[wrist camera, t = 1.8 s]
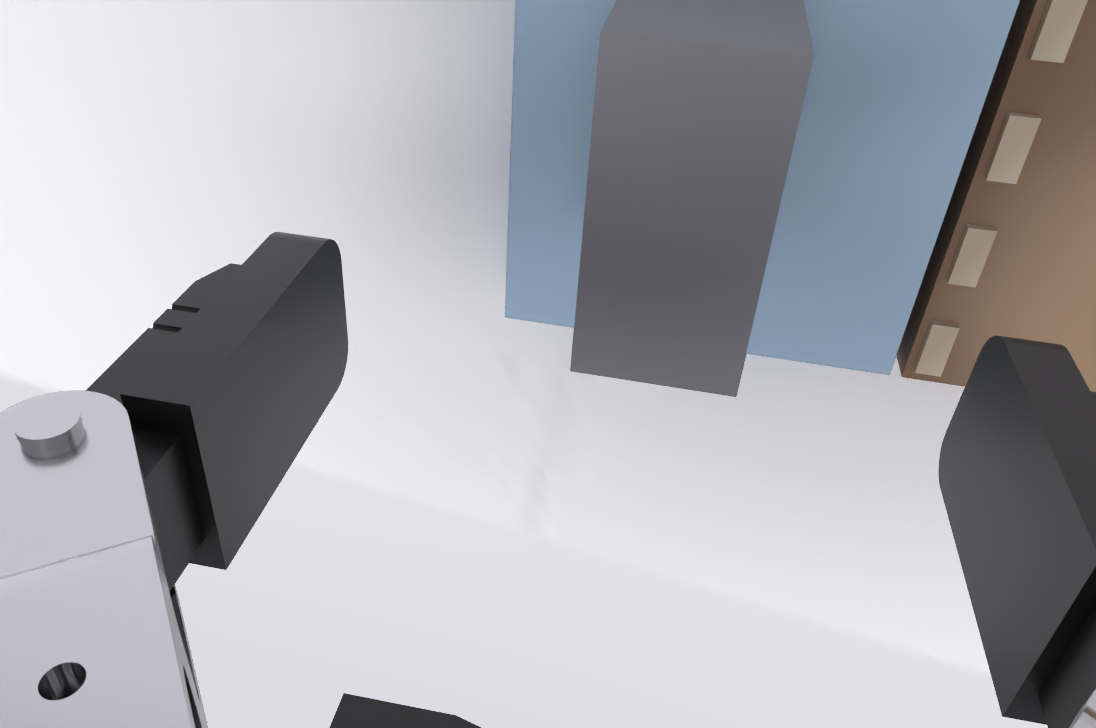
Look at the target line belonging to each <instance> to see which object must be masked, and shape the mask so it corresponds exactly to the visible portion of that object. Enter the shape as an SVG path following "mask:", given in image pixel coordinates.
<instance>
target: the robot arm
mask: <svg viewBox="0 0 1096 728" xmlns="http://www.w3.org/2000/svg"><path fill="white" fill-rule="evenodd" d="M347 355H348V335H347V323H346V312H345V300H344V288H343V276H342V264H341V255H340V251H339V248H338V245H337V244H336V242H335V241H334V240H331V239H325V238H318V237H310V236H303V235H296V234H289V233H282V232H274V233H272V234H271V235H270V236H269V237H268V238H267V239H266V240H265V241H264V242H263V243H262V244H261V245H260V246H259V247H258V248H257V250H256V251H255V252H254V253H253V254H252V255H251V256H250V257H249V258H248V259H247V260H246V261H245V262H244V263H243V264H242V265H237V264H229V265H227V266H225V267H223V268H221V269H219V270H217V271H215V272H213V273H211V274H209V275H207V276H205V277H203V278H201V279H199V280H197V281H195V282H194V283H193V284H192V285H191V286H190V287H189V288H188V289H187V290H186V291H185V292H184V293H183V294H182V295H181V296H180V297H179V298H178V299H177V300H176V301H175V302H174V303H173V304H172V309H167V310H166V311H165V312H164V313H163V314H162V315H161V316H160V317H159V318H158V319H157V320H156V321H155V322H154V323H153V328H152V329H151V328H148V329H147V330H146V331H145V332H144V333H143V334H142V335H141V336H140V337H139V338H138V339H137V340H136V341H135V342H134V343H133V344H132V345H131V346H130V347H129V348H128V349H127V350H126V351H125V352H124V353H123V354H122V355H121V356H120V357H119V358H118V359H117V360H116V361H115V362H114V363H113V364H112V365H111V366H110V367H109V368H108V369H107V370H106V371H105V372H104V373H103V374H102V375H101V376H100V377H99V378H98V379H97V380H96V381H95V382H94V383H93V384H92V385H91V386H90V387H89V388H88V389H87V390H86V391H76V390H72V391H60V392H54V393H48V394H44V395H40V396H36V397H33V398H30V399H27V400H24V401H22V402H19V403H17V404H15V405H13V406H11V407H9V408H7V409H5V410H4V411H2V412H0V728H208V726H207V721H206V717H205V713H204V708H203V704H202V699H201V695H200V691H199V686H198V682H197V677H196V673H195V668H194V664H193V660H192V655H191V651H190V646H189V642H188V637H187V633H186V629H185V624H184V620H183V616H182V611H181V607H180V602H179V598H178V594H177V590H176V587H175V583H176V581H177V580H178V578H179V577H180V575H181V574H182V572H183V571H184V569H185V568H186V566H187V565H188V563H192V564H198V565H203V566H208V567H214V568H219V569H225V570H226V569H227V568H228V566H229V564H230V563H231V561H232V560H233V558H234V556H235V555H236V553H237V551H238V550H239V548H240V547H241V545H242V543H243V542H244V540H245V538H246V537H247V535H248V533H249V532H250V530H251V529H252V527H253V526H254V524H255V522H256V521H257V519H258V517H259V516H260V514H261V513H262V511H263V509H264V507H265V506H266V504H267V503H268V501H269V500H270V498H271V496H272V495H273V493H274V491H275V490H276V488H277V487H278V485H279V483H280V482H281V480H282V479H283V477H284V475H285V474H286V472H287V470H288V469H289V467H290V466H291V464H292V462H293V461H294V459H295V457H296V456H297V454H298V453H299V451H300V449H301V448H302V446H303V444H304V443H305V441H306V440H307V438H308V436H309V435H310V433H311V432H312V430H313V428H314V427H315V425H316V423H317V422H318V420H319V419H320V417H321V415H322V414H323V412H324V410H325V409H326V407H327V406H328V404H329V402H330V401H331V399H332V397H333V396H334V394H335V393H336V391H337V389H338V387H339V386H340V383H341V381H342V378H343V375H344V371H345V367H346V362H347ZM939 483H940V488H941V492H942V495H943V499H944V503H945V506H946V510H947V514H948V517H949V521H950V525H951V528H952V532H953V536H954V540H955V543H956V547H957V551H958V554H959V558H960V562H961V565H962V569H963V573H964V577H965V580H966V584H967V588H968V591H969V595H970V599H971V602H972V606H973V610H974V613H975V617H976V621H977V625H978V628H979V632H980V636H981V639H982V643H983V647H984V650H985V654H986V658H987V661H988V665H989V669H990V673H991V676H992V680H993V684H994V687H995V691H996V695H997V698H998V702H999V705H1000V709H1001V713H1002V716H1003V717H1009V718H1014V719H1019V720H1025V721H1030V722H1036V723H1041V724H1047V725H1048V728H1096V392H1092V391H1090V389H1089V388H1088V386H1087V384H1086V382H1085V380H1084V378H1083V377H1082V375H1081V373H1080V371H1079V369H1078V367H1077V365H1076V364H1075V362H1074V360H1073V358H1072V356H1071V354H1070V352H1069V351H1068V349H1067V348H1066V347H1065V346H1063V345H1060V344H1054V343H1047V342H1040V341H1033V340H1026V339H1019V338H1012V337H1005V336H998V335H996V336H992V337H991V338H989V339H988V340H987V341H986V343H985V344H984V346H983V347H982V349H981V351H980V353H979V356H978V358H977V360H976V363H975V365H974V367H973V370H972V372H971V375H970V377H969V379H968V382H967V384H966V386H965V389H964V391H963V393H962V396H961V398H960V401H959V403H958V405H957V408H956V410H955V412H954V415H953V417H952V420H951V422H950V424H949V427H948V429H947V431H946V434H945V437H944V440H943V443H942V447H941V452H940V459H939ZM330 728H481V727H479V726H476V725H474V724H472V723H470V722H468V721H466V720H464V719H462V718H460V717H458V716H456V715H450V714H445V713H441V712H436V711H430V710H425V709H420V708H415V707H410V706H405V705H400V704H395V703H389V702H385V701H380V700H374V699H370V698H365V697H360V696H354V695H349V694H343V697H342V699H341V702H340V704H339V706H338V709H337V711H336V714H335V716H334V719H333V721H332V723H331V726H330Z"/></svg>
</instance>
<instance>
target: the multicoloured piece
mask: <svg viewBox="0 0 1096 728" xmlns="http://www.w3.org/2000/svg"><path fill="white" fill-rule="evenodd" d="M1019 2H1020V0H516V8H515V37H514V67H513V97H512V126H511V156H510V186H509V216H508V245H507V275H506V305H505V317H507V318H513V319H520V320H527V321H533V322H540V323H547V324H553V325H560V326H567V327H573V328H574V335H573V346H572V357H571V369H570V371H574V372H580V373H586V374H593V375H599V376H606V377H612V378H618V379H625V380H631V381H638V382H644V383H650V384H657V385H663V386H670V387H676V388H683V389H689V390H695V391H702V392H708V393H715V394H721V395H727V396H734V397H736V396H737V392H738V387H739V383H740V379H741V374H742V370H743V365H744V361H745V357H746V354H753V355H760V356H766V357H773V358H780V359H786V360H793V361H800V362H806V363H813V364H820V365H826V366H833V367H840V368H846V369H853V370H859V371H866V372H873V373H879V374H886V375H889V374H890V371H891V369H892V366H893V363H894V360H895V357H896V354H897V351H898V349H899V346H900V343H901V340H902V337H903V334H904V331H905V328H906V326H907V323H908V320H909V317H910V314H911V311H912V308H913V306H914V303H915V300H916V297H917V294H918V291H919V288H920V285H921V283H922V280H923V277H924V274H925V271H926V268H927V265H928V263H929V260H930V257H931V254H932V251H933V248H934V245H935V242H936V240H937V237H938V234H939V231H940V228H941V225H942V222H943V220H944V217H945V214H946V211H947V208H948V205H949V202H950V199H951V197H952V194H953V191H954V188H955V185H956V182H957V179H958V176H959V174H960V171H961V168H962V165H963V162H964V159H965V156H966V154H967V151H968V148H969V145H970V142H971V139H972V136H973V133H974V131H975V128H976V125H977V122H978V119H979V116H980V113H981V111H982V108H983V105H984V102H985V99H986V96H987V93H988V90H989V88H990V85H991V82H992V79H993V76H994V73H995V70H996V68H997V65H998V62H999V59H1000V56H1001V53H1002V50H1003V47H1004V45H1005V42H1006V39H1007V36H1008V33H1009V30H1010V27H1011V25H1012V22H1013V19H1014V16H1015V13H1016V10H1017V7H1018V4H1019Z"/></svg>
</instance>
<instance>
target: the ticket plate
mask: <svg viewBox="0 0 1096 728" xmlns="http://www.w3.org/2000/svg"><path fill="white" fill-rule="evenodd" d="M996 335H998V336H1005V337H1012V338H1019V339H1026V340H1033V341H1040V342H1047V343H1054V344H1060V345H1063V346H1065V347H1066V348H1067V349H1068V351H1069V352H1070V354H1071V356H1072V358H1073V360H1074V362H1075V364H1076V365H1077V367H1078V369H1079V371H1080V373H1081V375H1082V377H1083V378H1084V380H1085V382H1086V384H1087V386H1088V388H1089V389H1090V391H1092V392H1096V0H1020V2H1019V4H1018V7H1017V10H1016V13H1015V16H1014V19H1013V22H1012V25H1011V27H1010V30H1009V33H1008V36H1007V39H1006V42H1005V45H1004V47H1003V50H1002V53H1001V56H1000V59H999V62H998V65H997V68H996V70H995V73H994V76H993V79H992V82H991V85H990V88H989V90H988V93H987V96H986V99H985V102H984V105H983V108H982V111H981V113H980V116H979V119H978V122H977V125H976V128H975V131H974V133H973V136H972V139H971V142H970V145H969V148H968V151H967V154H966V156H965V159H964V162H963V165H962V168H961V171H960V174H959V176H958V179H957V182H956V185H955V188H954V191H953V194H952V197H951V199H950V202H949V205H948V208H947V211H946V214H945V217H944V220H943V222H942V225H941V228H940V231H939V234H938V237H937V240H936V242H935V245H934V248H933V251H932V254H931V257H930V260H929V263H928V265H927V268H926V271H925V274H924V277H923V280H922V283H921V285H920V288H919V291H918V294H917V297H916V300H915V303H914V306H913V308H912V311H911V314H910V317H909V320H908V323H907V326H906V328H905V331H904V334H903V337H902V340H901V343H900V346H899V349H898V351H897V359H898V363H899V367H900V371H901V376H902V377H906V378H913V379H919V380H926V381H933V382H939V383H946V384H953V385H959V386H966V384H967V382H968V379H969V377H970V375H971V372H972V370H973V367H974V365H975V363H976V360H977V358H978V356H979V353H980V351H981V349H982V347H983V346H984V344H985V343H986V341H987V340H988V339H989V338H991V337H992V336H996Z"/></svg>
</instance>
